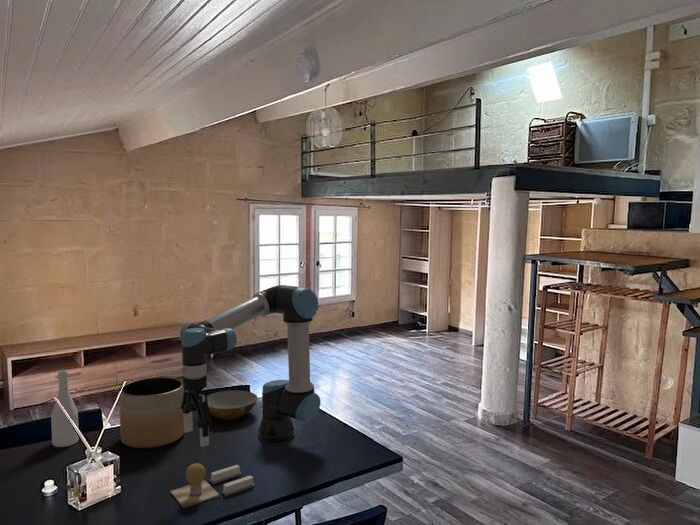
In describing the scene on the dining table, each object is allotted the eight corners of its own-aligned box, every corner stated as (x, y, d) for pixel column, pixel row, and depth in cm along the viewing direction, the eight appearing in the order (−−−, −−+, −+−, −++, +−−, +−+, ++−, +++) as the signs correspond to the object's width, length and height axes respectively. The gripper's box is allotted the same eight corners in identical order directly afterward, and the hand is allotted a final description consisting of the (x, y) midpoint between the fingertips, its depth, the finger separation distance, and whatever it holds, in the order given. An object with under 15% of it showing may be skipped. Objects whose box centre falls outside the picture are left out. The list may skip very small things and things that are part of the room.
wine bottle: (46, 445, 211) (43, 372, 208) (67, 436, 219) (64, 366, 217) (63, 449, 207) (61, 375, 204) (84, 440, 216) (81, 368, 213)
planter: (198, 432, 225) (197, 382, 223) (151, 456, 202) (149, 400, 200) (155, 421, 236) (154, 373, 234) (106, 442, 214) (105, 389, 212)
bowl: (268, 415, 244) (268, 398, 244) (221, 431, 226) (221, 413, 225) (237, 402, 262) (237, 386, 261) (191, 415, 243) (191, 398, 243)
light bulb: (184, 491, 175) (183, 462, 174) (203, 486, 178) (203, 458, 177) (187, 500, 170) (187, 470, 169) (207, 495, 173) (207, 466, 172)
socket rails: (209, 480, 184) (209, 472, 183) (237, 471, 190) (237, 463, 190) (225, 496, 174) (225, 487, 173) (254, 486, 180) (254, 477, 180)
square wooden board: (170, 492, 176) (170, 490, 176) (204, 481, 183) (204, 479, 183) (183, 508, 166) (183, 506, 166) (219, 496, 174) (219, 494, 174)
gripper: (169, 369, 179) (171, 429, 181) (198, 388, 160) (200, 455, 162) (191, 365, 184) (192, 423, 186) (221, 383, 165) (223, 448, 167)
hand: (196, 438), depth 174 cm, fingers open, 13 cm apart
